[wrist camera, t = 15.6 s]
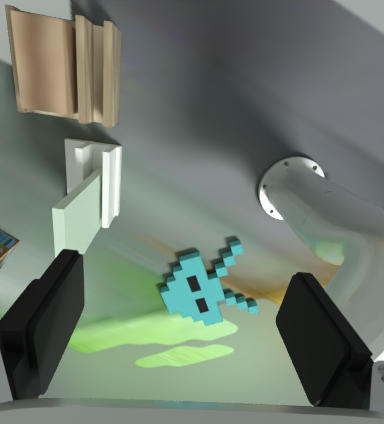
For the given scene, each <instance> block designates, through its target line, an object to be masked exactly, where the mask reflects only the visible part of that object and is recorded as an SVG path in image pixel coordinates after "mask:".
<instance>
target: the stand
mask: <svg viewBox="0 0 384 424" xmlns="http://www.w3.org/2000/svg"><path fill="white" fill-rule="evenodd" d="M121 155H122V146H120V145H113V144H106V143H99V142H93V141H86V140H79V139H72V138H67V139H65V156H66V174H67V193H68V194H69V193H70V192H71V191H72V190H74V189H75V188H76V187H77V186H78V185H79V184H80V183H82V182H83V181H84V180H85V179H86V178H87V177H89V176H90V175H91V174H92V173H93V172H94V171H95V170H97V169H98V168H99V167H103V181H102V228H108V227H109V226H110V224H111V222H112V220H113V218H114V216H118V214H119V207H120V181H121Z"/></svg>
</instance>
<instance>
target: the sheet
mask: <svg viewBox="0 0 384 424" xmlns="http://www.w3.org/2000/svg"><path fill="white" fill-rule="evenodd" d="M102 181H103V167H99V168H98V169H97V170H95V171H94V172H93V173H92V174H91V175H90V176H89V177H87V178H86V179H85V180H84V181H83V182H82V183H80V184H79V185H78V186H77V187H76V188H75V189H74V190H72V191H71V192H70V193H69V194H68V195H67V196H66V197H64V198H63V199H62V200H61V201H60V202H59V203H57V204H56V205H55V206H54V207H53V208H52V213H53V228H54V244H55V258H56V257H57V256H58V254H59V253H60V252H61V250H62V249H72V250H78V251H79V254H83V255H84V253H85V251H86V250H87V248H88V246H89V245H90V243H91V241H92V240H93V238H94V236H95V235H96V233H97V232H98V230H99V228H100V227H101V225H102Z"/></svg>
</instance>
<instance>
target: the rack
mask: <svg viewBox="0 0 384 424" xmlns="http://www.w3.org/2000/svg"><path fill="white" fill-rule="evenodd" d="M5 10H6V18H7V25H8V34H9V43H10V51H11V59H12V67H13V76H14V84H15V92H16V100H17V108H18V112H23V113H29V112H34V113H41V114H47V115H54V116H60V117H67V118H73V119H79V123H82V124H87V123H91V122H100V123H103V127H109V128H110V127H113V126H115V125H117V124H118V112H119V80H120V48H121V32H120V31H119V29H118V28H117V27H116V26H115V25H114V24H113V23H112V22H110V21H105V20H104V27H102V26H97V25H93V24H92V23H91V22H90V21H88V20H87V19H86V18H85V17H84V16H79V15H75V19H76V21H71V20H66V19H61V18H56V17H50V16H45V15H40V14H35V13H30V12H24V11H21V10H19V9H17V8H16V7H14V6H10V5H5ZM10 10H12V11H17V12H22V13H28V14H33V15H38V16H43V17H48V18H54V19H59V20H63V21H64V22H66V23H67V24H69V25H70V26H72V27H73V28H75V29H76V53H77V86H78V113H75V114H68V115H65V114H58V113H52V112H46V111H39V110H33V109H26V108H21V99H20V90H19V82H18V73H17V64H16V56H15V47H14V39H13V30H12V21H11V13H10Z"/></svg>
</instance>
